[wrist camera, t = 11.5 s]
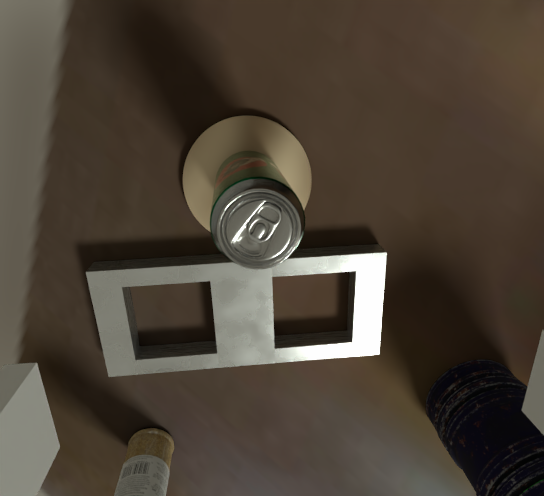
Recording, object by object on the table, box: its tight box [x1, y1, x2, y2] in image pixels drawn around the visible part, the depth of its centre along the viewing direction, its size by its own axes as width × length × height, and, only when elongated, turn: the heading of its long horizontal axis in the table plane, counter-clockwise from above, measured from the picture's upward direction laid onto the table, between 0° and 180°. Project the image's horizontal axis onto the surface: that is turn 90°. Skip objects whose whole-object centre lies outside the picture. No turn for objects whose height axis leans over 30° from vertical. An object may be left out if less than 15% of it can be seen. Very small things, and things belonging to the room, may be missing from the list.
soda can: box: [210, 151, 305, 269], centre depth 26 cm, size 5×5×12 cm
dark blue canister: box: [426, 360, 544, 496], centre depth 36 cm, size 10×10×15 cm
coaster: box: [183, 115, 311, 232], centre depth 32 cm, size 10×10×1 cm
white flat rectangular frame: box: [86, 244, 387, 377], centre depth 35 cm, size 24×10×2 cm, turn 92°
